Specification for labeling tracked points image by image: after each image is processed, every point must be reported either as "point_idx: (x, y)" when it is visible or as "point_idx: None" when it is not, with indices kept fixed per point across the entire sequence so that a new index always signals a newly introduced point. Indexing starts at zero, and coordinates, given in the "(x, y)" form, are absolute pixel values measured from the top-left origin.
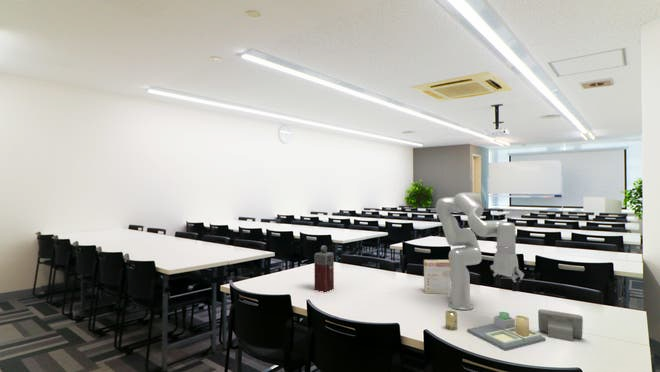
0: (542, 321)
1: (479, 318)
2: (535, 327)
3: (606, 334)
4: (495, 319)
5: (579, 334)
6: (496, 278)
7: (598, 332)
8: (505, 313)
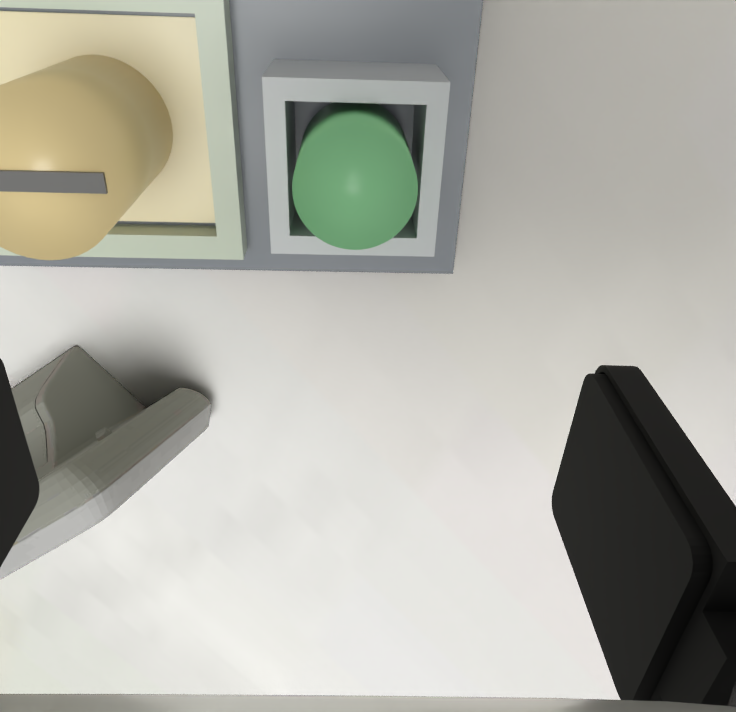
0: (115, 430)
1: (696, 144)
2: (270, 418)
3: (31, 657)
4: (422, 76)
5: None
6: (667, 544)
7: (68, 649)
8: (345, 202)
